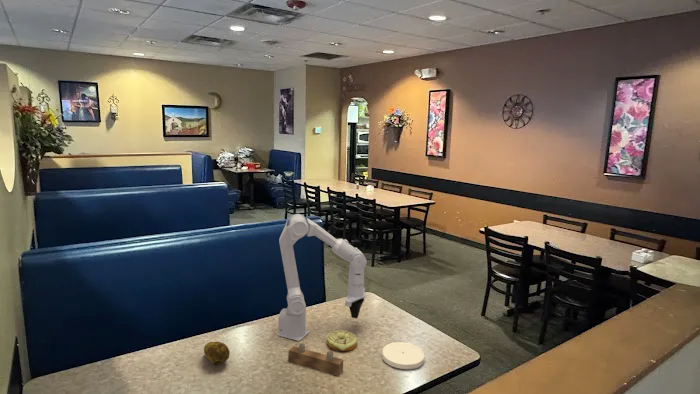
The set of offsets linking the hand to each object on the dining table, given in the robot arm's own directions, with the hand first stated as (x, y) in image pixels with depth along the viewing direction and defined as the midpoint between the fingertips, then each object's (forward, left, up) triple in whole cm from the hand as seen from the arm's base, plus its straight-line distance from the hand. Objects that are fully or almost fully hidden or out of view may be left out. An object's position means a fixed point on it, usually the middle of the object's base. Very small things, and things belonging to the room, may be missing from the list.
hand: (354, 317), depth 156 cm
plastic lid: (+22, -11, -6) cm, 25 cm away
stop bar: (-2, -28, -5) cm, 28 cm away
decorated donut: (0, -12, -6) cm, 13 cm away
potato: (-31, -40, -6) cm, 51 cm away
